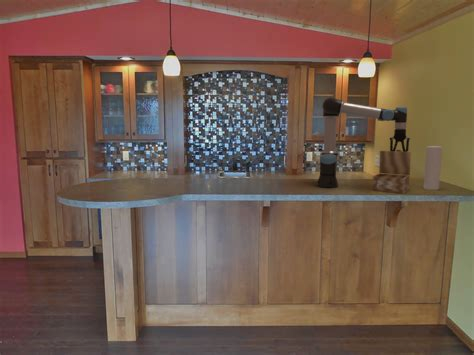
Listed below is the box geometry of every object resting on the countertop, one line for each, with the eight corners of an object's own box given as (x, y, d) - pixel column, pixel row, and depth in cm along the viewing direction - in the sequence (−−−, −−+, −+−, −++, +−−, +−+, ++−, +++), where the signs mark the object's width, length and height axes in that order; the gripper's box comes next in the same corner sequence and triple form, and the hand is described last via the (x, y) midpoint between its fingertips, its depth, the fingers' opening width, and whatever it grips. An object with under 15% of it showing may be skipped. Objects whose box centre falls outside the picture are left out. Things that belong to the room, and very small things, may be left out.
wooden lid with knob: (379, 150, 246) (384, 147, 257) (379, 173, 250) (384, 168, 261) (410, 152, 234) (414, 148, 245) (409, 175, 238) (413, 170, 249)
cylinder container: (430, 190, 238) (433, 146, 233) (420, 187, 247) (423, 145, 242) (442, 189, 239) (445, 146, 235) (432, 187, 248) (435, 145, 244)
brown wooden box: (372, 190, 239) (372, 176, 237) (378, 186, 252) (379, 173, 250) (403, 193, 227) (404, 178, 225) (408, 189, 240) (409, 175, 238)
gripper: (386, 129, 250) (384, 161, 254) (412, 128, 240) (410, 162, 244) (388, 128, 256) (387, 160, 260) (414, 128, 246) (412, 161, 250)
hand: (398, 161), depth 252 cm, fingers closed on wooden lid with knob, 4 cm apart
